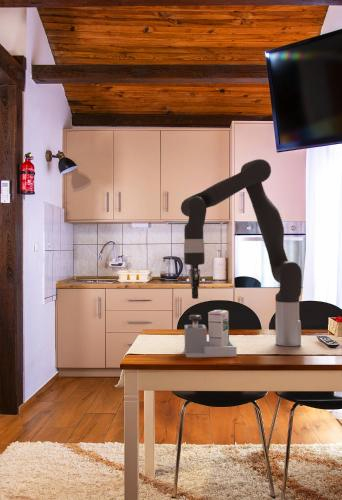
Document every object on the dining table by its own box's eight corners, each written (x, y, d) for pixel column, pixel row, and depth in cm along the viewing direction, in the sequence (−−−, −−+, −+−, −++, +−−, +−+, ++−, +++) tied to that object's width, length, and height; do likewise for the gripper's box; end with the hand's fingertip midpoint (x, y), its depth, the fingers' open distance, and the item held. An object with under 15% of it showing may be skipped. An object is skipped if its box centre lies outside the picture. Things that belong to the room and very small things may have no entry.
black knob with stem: (200, 337, 177) (200, 314, 177) (202, 339, 173) (201, 316, 173) (189, 337, 177) (188, 314, 177) (189, 339, 173) (189, 316, 173)
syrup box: (222, 352, 171) (222, 312, 171) (208, 350, 174) (208, 311, 174) (229, 349, 176) (229, 310, 176) (215, 347, 179) (214, 309, 179)
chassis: (231, 349, 181) (231, 323, 181) (236, 356, 170) (236, 328, 170) (184, 350, 180) (184, 324, 180) (186, 357, 169) (186, 329, 169)
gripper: (206, 251, 168) (207, 300, 168) (202, 251, 181) (203, 296, 181) (185, 252, 168) (186, 300, 168) (182, 251, 181) (183, 296, 181)
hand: (195, 298), depth 175 cm, fingers closed
